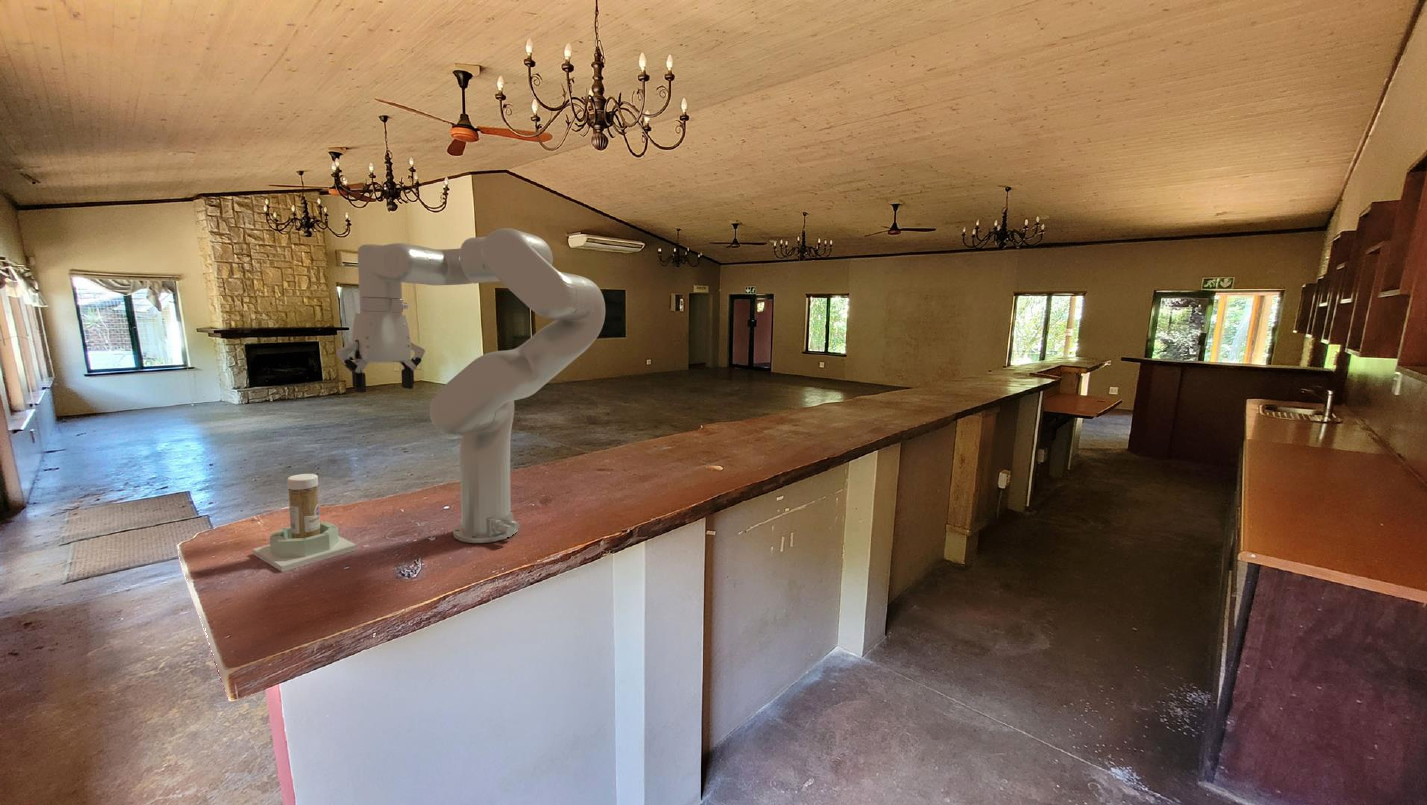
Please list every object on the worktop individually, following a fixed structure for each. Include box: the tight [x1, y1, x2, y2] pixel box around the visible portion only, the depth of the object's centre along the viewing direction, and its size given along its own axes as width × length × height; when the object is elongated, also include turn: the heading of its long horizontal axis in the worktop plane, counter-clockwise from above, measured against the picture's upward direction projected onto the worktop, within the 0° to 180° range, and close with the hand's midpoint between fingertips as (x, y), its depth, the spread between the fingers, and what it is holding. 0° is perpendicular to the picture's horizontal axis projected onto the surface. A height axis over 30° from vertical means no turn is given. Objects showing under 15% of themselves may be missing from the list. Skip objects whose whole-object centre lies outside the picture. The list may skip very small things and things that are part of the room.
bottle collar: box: [252, 521, 358, 573], centre depth 104 cm, size 12×12×4 cm
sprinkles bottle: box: [286, 473, 321, 539], centre depth 104 cm, size 5×5×13 cm
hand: (384, 390), depth 118 cm, fingers open, 9 cm apart
